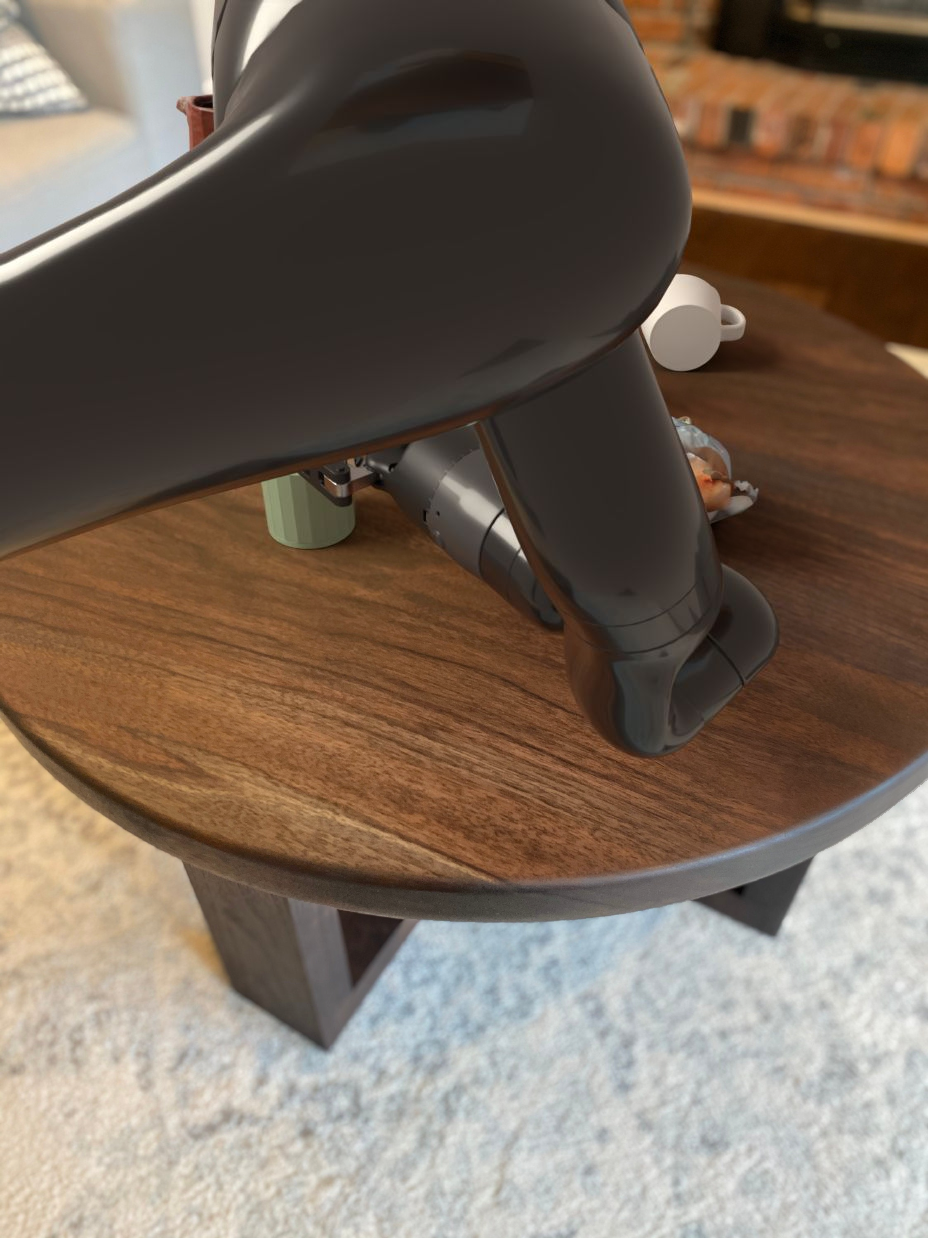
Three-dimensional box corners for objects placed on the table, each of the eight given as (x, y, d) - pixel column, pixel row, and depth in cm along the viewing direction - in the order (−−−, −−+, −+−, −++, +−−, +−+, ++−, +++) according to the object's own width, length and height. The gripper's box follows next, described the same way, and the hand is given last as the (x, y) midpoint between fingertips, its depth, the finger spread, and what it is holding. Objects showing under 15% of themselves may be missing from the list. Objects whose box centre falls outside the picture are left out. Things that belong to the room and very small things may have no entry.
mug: (637, 369, 108) (647, 302, 103) (632, 335, 115) (641, 269, 110) (743, 374, 107) (758, 306, 102) (731, 339, 114) (745, 274, 109)
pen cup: (275, 556, 80) (264, 481, 76) (261, 506, 86) (250, 434, 81) (364, 540, 82) (359, 466, 77) (344, 492, 88) (338, 421, 83)
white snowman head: (744, 495, 88) (806, 414, 75) (691, 597, 84) (746, 530, 71) (603, 420, 90) (640, 328, 77) (545, 517, 86) (573, 437, 73)
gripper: (578, 416, 58) (435, 323, 68) (379, 486, 52) (253, 372, 62) (568, 517, 63) (435, 417, 73) (384, 591, 57) (267, 470, 67)
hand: (352, 396), depth 67 cm, fingers open, 8 cm apart
